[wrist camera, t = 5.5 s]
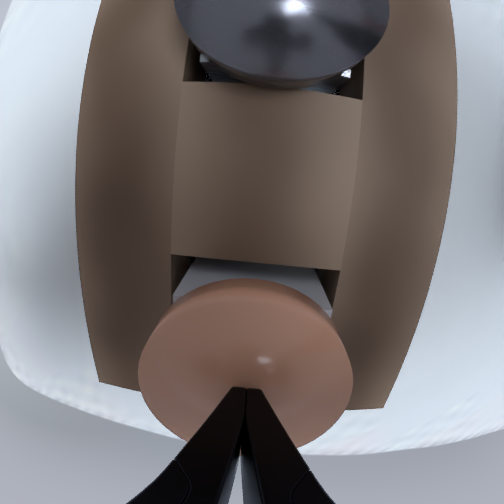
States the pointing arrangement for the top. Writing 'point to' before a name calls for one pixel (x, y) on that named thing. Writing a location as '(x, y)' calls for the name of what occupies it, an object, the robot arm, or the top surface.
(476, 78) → the top surface
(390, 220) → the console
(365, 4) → the charcoal plunger
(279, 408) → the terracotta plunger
